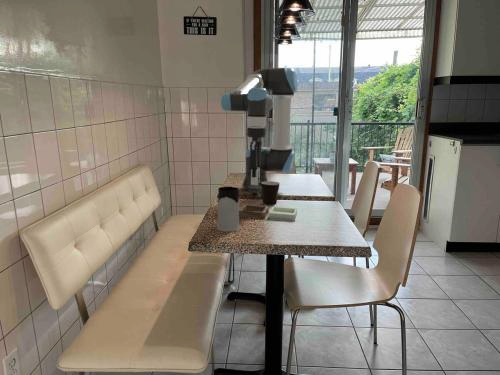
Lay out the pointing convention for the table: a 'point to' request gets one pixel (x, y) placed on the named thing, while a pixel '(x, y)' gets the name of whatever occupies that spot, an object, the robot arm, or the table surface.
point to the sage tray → (283, 213)
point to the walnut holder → (254, 211)
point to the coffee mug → (270, 192)
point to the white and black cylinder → (228, 209)
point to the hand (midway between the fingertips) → (255, 183)
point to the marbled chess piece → (255, 189)
